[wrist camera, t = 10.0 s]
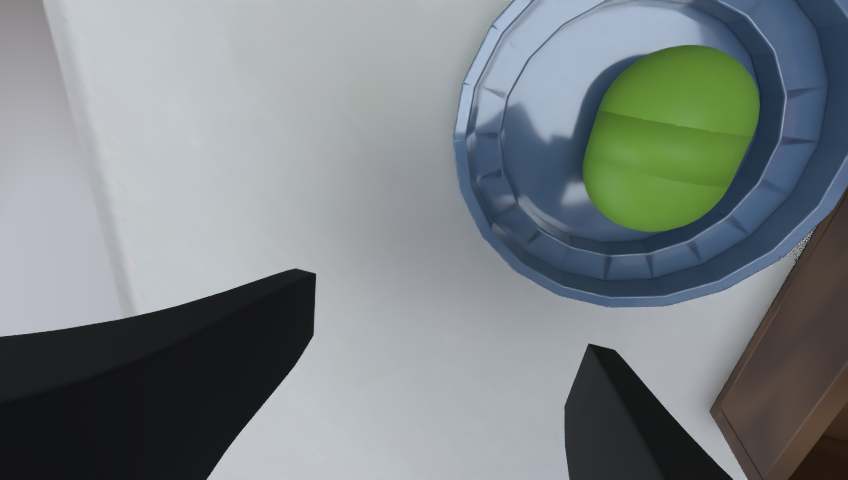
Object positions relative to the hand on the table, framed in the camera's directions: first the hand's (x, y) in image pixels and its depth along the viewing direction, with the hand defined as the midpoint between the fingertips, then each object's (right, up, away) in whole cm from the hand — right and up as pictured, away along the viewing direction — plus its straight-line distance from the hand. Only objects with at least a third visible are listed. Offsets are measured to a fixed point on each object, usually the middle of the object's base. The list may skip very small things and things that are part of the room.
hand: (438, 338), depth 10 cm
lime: (+8, +6, +4) cm, 11 cm away
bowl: (+8, +7, +7) cm, 13 cm away
